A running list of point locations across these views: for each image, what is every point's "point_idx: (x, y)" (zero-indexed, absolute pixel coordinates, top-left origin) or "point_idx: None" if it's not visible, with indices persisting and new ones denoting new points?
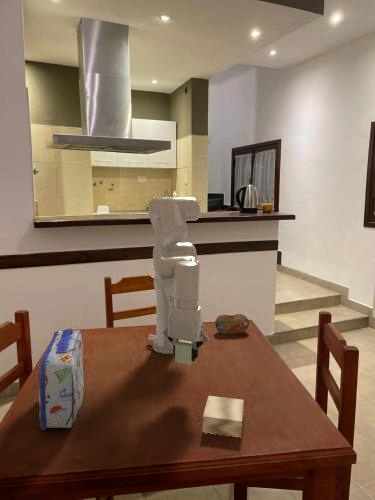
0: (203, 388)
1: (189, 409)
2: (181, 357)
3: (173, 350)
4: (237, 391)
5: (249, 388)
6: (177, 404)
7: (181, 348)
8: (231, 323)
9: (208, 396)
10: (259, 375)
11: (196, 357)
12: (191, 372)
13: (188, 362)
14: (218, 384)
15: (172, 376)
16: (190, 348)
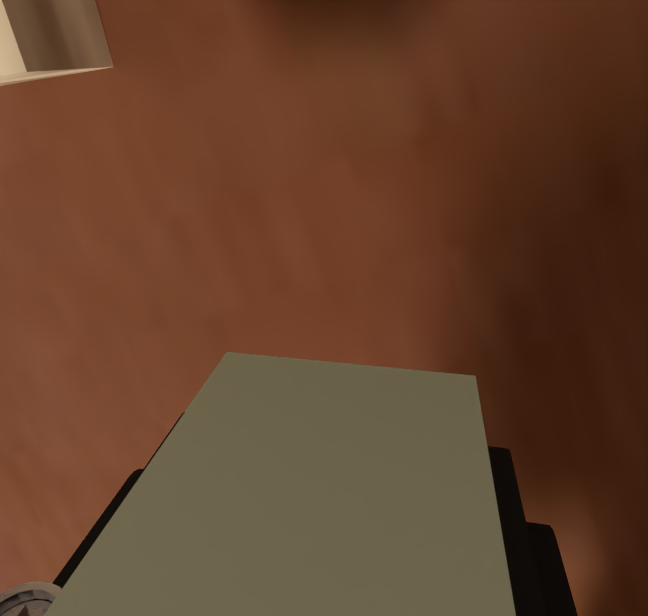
0: (261, 343)
1: (253, 26)
2: (355, 427)
3: (559, 579)
4: (53, 361)
5: (10, 406)
6: (376, 65)
7: (326, 588)
8: None
9: (17, 53)
10: (28, 530)
11: (132, 473)
12: None
13: (244, 374)
14: None
15: (532, 437)
16: (69, 589)
